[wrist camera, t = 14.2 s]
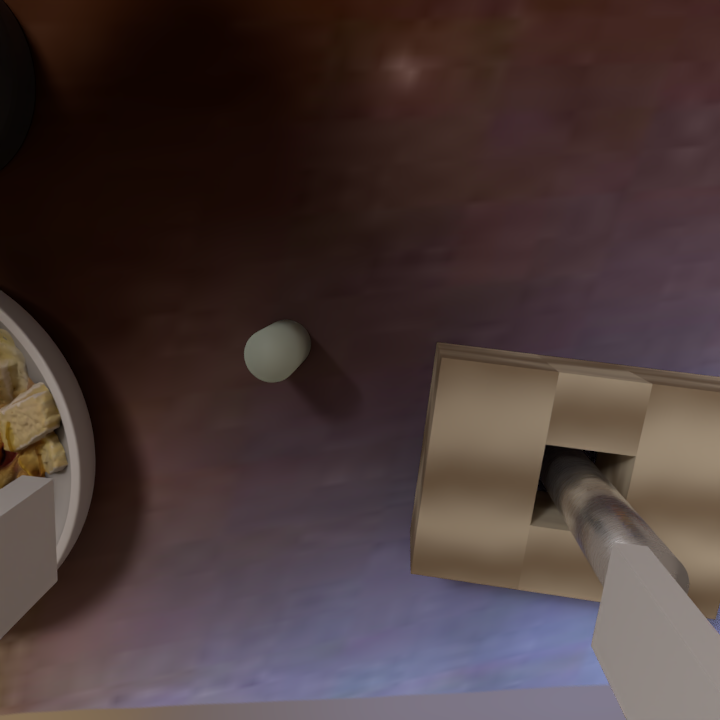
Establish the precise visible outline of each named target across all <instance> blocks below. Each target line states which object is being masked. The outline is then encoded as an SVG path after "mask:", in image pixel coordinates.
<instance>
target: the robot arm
mask: <svg viewBox="0 0 720 720" xmlns="http://www.w3.org/2000/svg"><path fill="white" fill-rule="evenodd" d="M34 104H35V75H34V67H33V62H32V58H31V53H30V50H29V47H28V44H27V41H26V39H25V36H24V34H23V32H22V30H21V28H20V26H19V24H18V22H17V20H16V18H15V17H14V15H13V14H12V12H11V11H10V9H9V8H8V6H7V5H6V4H5V3H4V1H3V0H0V170H1V169H2V168H3V167H4V166H5V165H6V164H7V163H8V162H9V161H10V160H11V159H12V158H13V157H14V155H15V154H16V153H17V151H18V150H19V148H20V146H21V145H22V143H23V141H24V139H25V137H26V134H27V132H28V129H29V126H30V123H31V120H32V116H33V111H34ZM57 581H58V578H57V553H56V528H55V503H54V479H52V478H43V477H34V476H25V475H22V476H20V477H19V478H17V479H16V480H14V481H12V482H11V483H9V484H8V485H6V486H5V487H3V488H1V489H0V639H1V638H2V637H3V636H4V635H5V634H6V633H7V632H8V631H9V630H10V629H11V628H12V627H13V626H14V625H15V624H16V623H17V622H18V621H19V620H20V619H21V618H22V617H23V616H24V615H25V614H26V613H27V611H28V610H29V609H30V608H31V607H32V606H33V605H34V604H35V603H36V602H37V601H38V600H39V599H40V598H41V597H42V596H43V595H44V594H45V593H46V592H47V591H48V590H49V589H50V588H51V587H52V586H53V585H54V584H55V583H56V582H57ZM591 646H592V649H593V651H594V653H595V655H596V657H597V659H598V661H599V663H600V665H601V667H602V670H603V672H604V674H605V676H606V678H607V680H608V682H609V684H610V686H611V688H612V690H613V693H614V695H615V697H616V699H617V701H618V703H619V705H620V707H621V709H622V711H623V714H624V716H625V718H626V720H720V635H719V633H718V632H717V631H716V630H715V628H714V627H713V626H712V625H711V624H710V622H709V621H708V620H707V619H706V617H705V616H704V615H703V614H702V612H701V611H700V610H699V609H698V608H697V606H696V605H695V604H694V603H693V601H692V600H691V599H690V598H689V596H688V595H687V594H686V593H685V592H684V590H683V589H682V588H681V587H680V585H679V584H678V583H677V582H676V580H675V579H674V578H673V577H672V576H671V574H670V573H669V572H668V571H667V569H666V568H665V567H664V566H663V564H662V563H661V562H660V561H659V560H658V558H657V557H656V556H655V555H654V553H653V552H652V551H651V550H650V548H649V547H648V546H642V545H633V544H624V543H615V542H613V546H612V551H611V556H610V560H609V565H608V570H607V574H606V579H605V583H604V588H603V593H602V597H601V602H600V607H599V611H598V616H597V620H596V625H595V630H594V634H593V639H592V644H591Z"/></svg>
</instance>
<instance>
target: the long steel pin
mask: <svg viewBox="0 0 720 720" xmlns="http://www.w3.org/2000/svg"><path fill="white" fill-rule="evenodd" d="M539 478H540V480H541V481H542V483H543V485H544V487H545V488H546V490H547V492H548V493H549V495H550V497H551V499H552V500H553V502H554V504H555V505H556V507H557V509H558V511H559V512H560V514H561V516H562V517H563V519H564V521H565V523H566V524H567V526H568V528H569V529H570V531H571V533H572V535H573V536H574V538H575V540H576V541H577V543H578V545H579V547H580V548H581V550H582V552H583V553H584V555H585V557H586V559H587V560H588V562H589V564H590V565H591V567H592V569H593V571H594V572H595V574H596V576H597V577H598V579H599V581H600V583H601V584H602V586H603V588H604V583H605V579H606V574H607V570H608V565H609V560H610V556H611V551H612V546H613V542H615V543H624V544H633V545H642V546H648V547H649V548H650V550H651V551H652V552H653V553H654V555H655V556H656V557H657V558H658V560H659V561H660V562H661V563H662V564H663V566H664V567H665V568H666V569H667V571H668V572H669V573H670V574H671V576H672V577H673V578H674V579H675V580H676V582H677V583H678V584H679V585H680V587H681V588H682V589H683V590H684V592H685V593H686V594H688V591H689V577H688V573H687V571H686V569H685V567H684V566H683V564H682V563H681V562H680V561H679V560H678V559H677V557H676V556H675V555H674V554H673V553H672V552H671V551H670V549H669V548H668V547H667V546H666V545H665V544H664V543H663V542H662V540H661V539H660V538H659V537H658V536H657V535H656V534H655V532H654V531H653V530H652V529H651V528H650V527H649V526H648V525H647V523H646V522H645V521H644V520H643V519H642V518H641V517H640V515H639V514H638V513H637V512H636V511H635V510H634V509H633V507H632V506H631V505H630V504H629V503H628V502H627V501H626V500H625V498H624V497H623V496H622V495H621V494H620V493H619V492H618V490H617V489H616V488H615V487H614V486H613V485H612V484H611V483H610V481H609V480H608V479H607V478H606V477H605V476H604V475H603V473H602V472H601V471H600V470H599V469H598V468H597V467H596V465H595V464H594V463H593V462H592V461H591V460H590V459H589V458H588V456H587V455H586V454H585V453H584V452H583V451H582V450H581V449H576V448H568V447H561V446H553V445H546V444H545V450H544V455H543V460H542V465H541V471H540V476H539Z"/></svg>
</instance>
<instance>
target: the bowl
mask: <svg viewBox="0 0 720 720" xmlns="http://www.w3.org/2000/svg"><path fill="white" fill-rule="evenodd" d="M22 475H25V476H34V477H43V478H52V479H54V503H55V528H56V553H57V569H58V568H59V567H60V566H61V564H62V563H63V562H64V560H65V559H66V557H67V556H68V555H69V553H70V551H71V550H72V548H73V546H74V544H75V543H76V541H77V539H78V537H79V535H80V533H81V530H82V528H83V525H84V523H85V520H86V517H87V514H88V511H89V508H90V503H91V499H92V494H93V488H94V481H95V444H94V435H93V430H92V424H91V420H90V416H89V412H88V409H87V405H86V402H85V399H84V397H83V394H82V391H81V389H80V386H79V384H78V382H77V380H76V378H75V376H74V374H73V372H72V370H71V368H70V366H69V364H68V363H67V361H66V359H65V358H64V356H63V354H62V353H61V351H60V350H59V349H58V347H57V346H56V344H55V343H54V342H53V340H52V339H51V338H50V336H49V335H48V334H47V333H46V331H45V330H44V329H43V328H42V327H41V326H40V324H39V323H38V322H37V321H36V320H35V319H34V318H33V317H32V316H31V315H30V314H29V313H28V312H27V311H26V310H24V309H23V308H22V307H21V306H20V305H19V304H18V303H17V302H15V301H14V300H13V299H12V298H10V297H9V296H8V295H7V294H5V293H4V292H2V291H1V290H0V489H1V488H3V487H5V486H6V485H8V484H9V483H11V482H12V481H14V480H16V479H17V478H19V477H20V476H22Z"/></svg>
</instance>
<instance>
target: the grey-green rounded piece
mask: <svg viewBox="0 0 720 720" xmlns="http://www.w3.org/2000/svg"><path fill="white" fill-rule="evenodd" d="M310 349H311V340H310V336H309V334H308V332H307V330H306V329H305V328H304V327H303V326H302V325H301V324H300V323H298V322H296V321H293V320H280V321H277V322H275V323H273V324H271V325H269V326H267V327H266V328H264V329H262V330H260V331H258V332H256V333H255V334H253V335H252V336H251V337H250V339H249V340H248V342H247V343H246V346H245V350H244V359H245V363H246V365H247V367H248V369H249V371H250V372H251V373H252V374H253V375H254V376H255V377H257V378H258V379H260V380H262V381H265V382H279V381H282V380H284V379H286V378H288V377H289V376H290V375H291V374H292V373H293V372H294V371H295V370H296V369H297V368H298V367H299V366H300V364H301V363H302V362H303V361H304V360H305V359H306V358H307V356H308V355H309V352H310Z"/></svg>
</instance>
